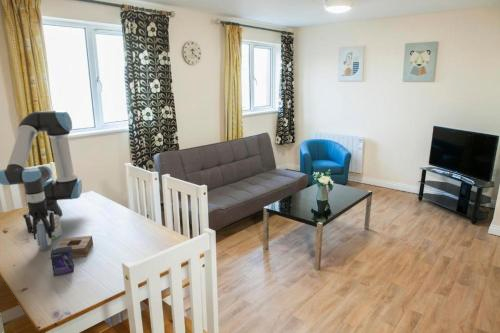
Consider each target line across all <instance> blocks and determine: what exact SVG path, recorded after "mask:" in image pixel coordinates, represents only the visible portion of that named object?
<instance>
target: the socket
mask: <svg viewBox="0 0 500 333" xmlns="http://www.w3.org/2000/svg"><path fill="white" fill-rule="evenodd" d="M68 246H71V247H72V254H73V260H74V259H83V258H84V259H85V258H87V257H88V256H89V253H90V251H91V249H92V248H93V246H94V241H93V235H86V236H85V235H84V236H83V235H82V236H81V235H80V236H70V237H64V238H63V239H62V241H61V242H60V244H59V245H58V246H57V248H62V247H68Z"/></svg>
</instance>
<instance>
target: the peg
mask: <svg viewBox="0 0 500 333" xmlns="http://www.w3.org/2000/svg"><path fill="white" fill-rule="evenodd" d="M36 227H37V233H38V238H39V243H40V246H39V248H40V251H41V252H46V251H49V250H50V249H51V247H50V246H51V244H50V245H48V244H47V238H46V232H47V231H46V228H45V226H44V224H43V222H40V221H38V223H37V224H36Z"/></svg>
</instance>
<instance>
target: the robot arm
mask: <svg viewBox="0 0 500 333" xmlns="http://www.w3.org/2000/svg"><path fill="white" fill-rule="evenodd" d="M72 129H73V122H72V119H71V116H70V114H69V112H67V111H66V110H58V109H57V110H55V109H54V110H37V111H33V112H30V113H28V114H27V115H26V116H24V118H23V119H22V120H21V121H20V123H19V124H18V127H17V137H16V139H15V142H14V145H13V148H12V151H11V154H10V157H9V160H8V162H7V166H6V168H5V169H1V170H0V185H2V186H12V185H13V186H14V185H23V187H24V191H25V197H26V201H27V207H28V208H27V209H28V212H25V213H24V214H23V215H22V217H23V219H24V221H25V224H26V228H27V232H28V233H29V234H33V240H36V244H37V247H40V243H39V238H38V233H37V227H36V224H37V223H39V222H40V220H42V221H43V224H44V226H45V228H46V231H47V232H46V238H47V244H48V245H50V246H51V244H52V241H51V237H52V232H51V231H54V229H55V223H54V214H55V215H59V218H60V217H61V216H63V210H62V208H61V206H60V205H59V203H58V201H63V200H74V199H75V200H76V199H79V198H80V197H81V195H82V191H83V181H82V179H79V178H78V175H76V174H75V173H74V168H73V167H74V166H73V162H72V155H71V149H70V144H69V137H68V136H69V135H70V132H71V131H72ZM43 132H44V133H46V136H47V137H49V138H50V141H51V146H52V151H53V157H54V163H55V167H56V173H57V177H56V178H55V180H54V178H52V175H53V171H52V170H51V168H49V166H46V165H45V166H44V165H41V166H38V167H34V168H33V167H31V168H26V166H27V162H28V159H29V156H30V153H31V150H32V147H33V143H34V139H35V138H36V137H38V134H39V133H43ZM47 216H49V221H50V225H49V222H48V220H47ZM31 218H32V219H31Z"/></svg>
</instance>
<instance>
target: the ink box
mask: <svg viewBox="0 0 500 333" xmlns="http://www.w3.org/2000/svg"><path fill="white" fill-rule="evenodd" d="M47 220H48V222H49V225H50V221H49V216H47ZM39 222H43V221H42V220H40V221H39ZM54 223H55V229H54V231H51V232H52V237H51V242H52V241H54V240H55V239H57V238H59V237H60V236H62V234H63V232H62V227H61V226H62V225H61V220H60V217H59V215H55V214H54Z"/></svg>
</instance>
